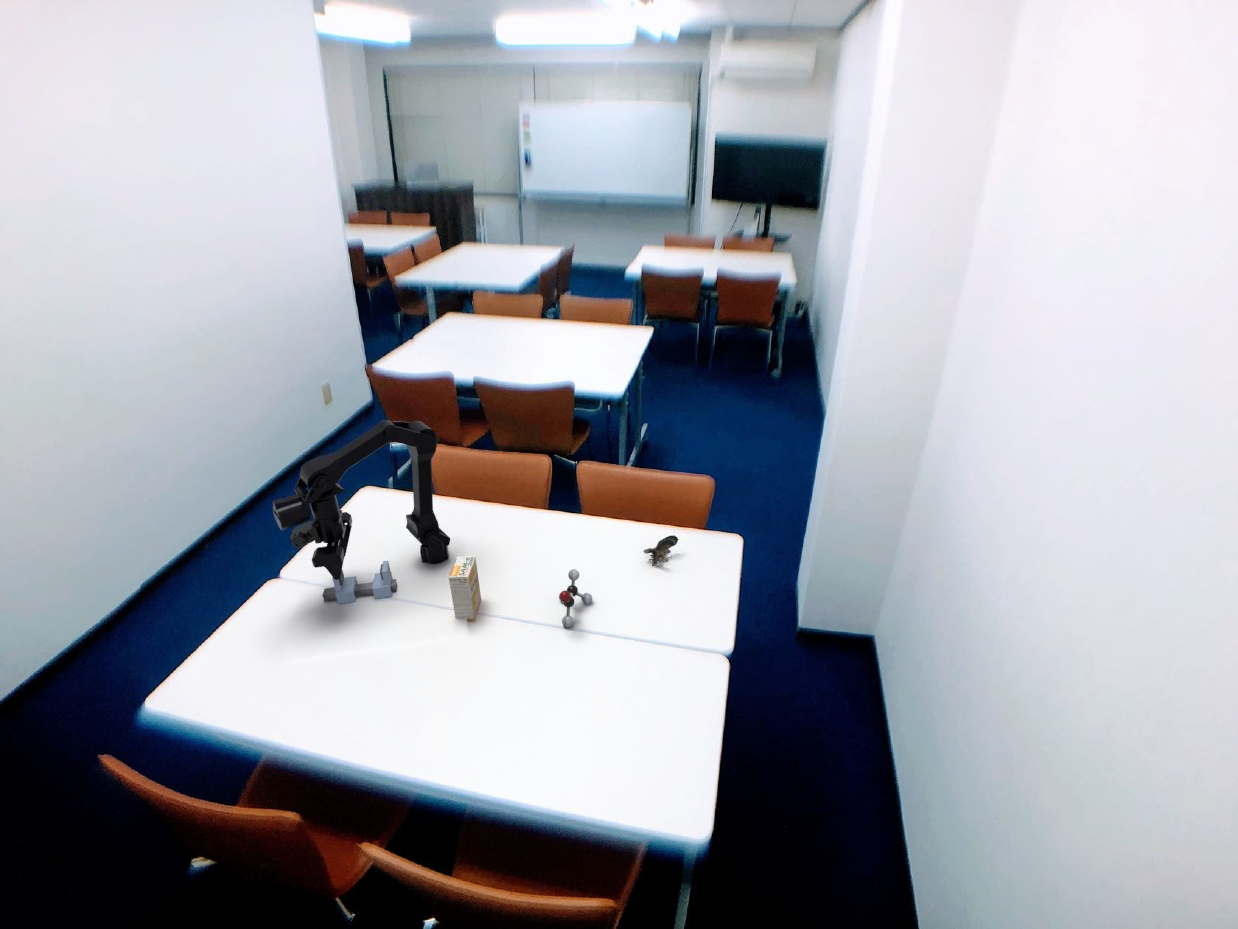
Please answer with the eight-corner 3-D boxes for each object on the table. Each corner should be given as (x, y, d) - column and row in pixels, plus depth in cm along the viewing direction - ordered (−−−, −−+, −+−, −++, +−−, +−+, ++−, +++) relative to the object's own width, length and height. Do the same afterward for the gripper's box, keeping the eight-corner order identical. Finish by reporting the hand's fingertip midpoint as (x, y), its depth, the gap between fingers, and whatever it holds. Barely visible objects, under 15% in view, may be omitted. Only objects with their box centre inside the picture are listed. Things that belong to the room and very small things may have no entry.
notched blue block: (358, 586, 173) (352, 563, 170) (355, 601, 168) (349, 578, 164) (341, 588, 172) (335, 565, 169) (338, 604, 167) (331, 580, 164)
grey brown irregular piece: (673, 568, 177) (684, 544, 183) (657, 548, 175) (670, 525, 181) (651, 573, 182) (663, 550, 188) (635, 554, 180) (648, 531, 186)
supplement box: (475, 621, 162) (468, 577, 156) (455, 621, 162) (447, 577, 156) (482, 598, 170) (476, 555, 163) (462, 598, 170) (456, 555, 163)
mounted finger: (393, 581, 174) (388, 558, 171) (391, 596, 169) (386, 573, 166) (377, 583, 174) (371, 560, 170) (374, 599, 169) (369, 575, 165)
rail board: (400, 579, 177) (398, 569, 175) (398, 601, 169) (396, 592, 168) (327, 589, 174) (324, 579, 172) (321, 612, 166) (318, 602, 165)
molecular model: (593, 599, 169) (591, 564, 164) (583, 633, 158) (581, 597, 153) (560, 596, 170) (558, 562, 165) (549, 630, 160) (545, 594, 154)
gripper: (297, 496, 165) (311, 549, 172) (280, 540, 149) (297, 597, 156) (345, 491, 167) (358, 544, 174) (334, 533, 151) (348, 590, 158)
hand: (340, 567), depth 166 cm, fingers open, 9 cm apart
